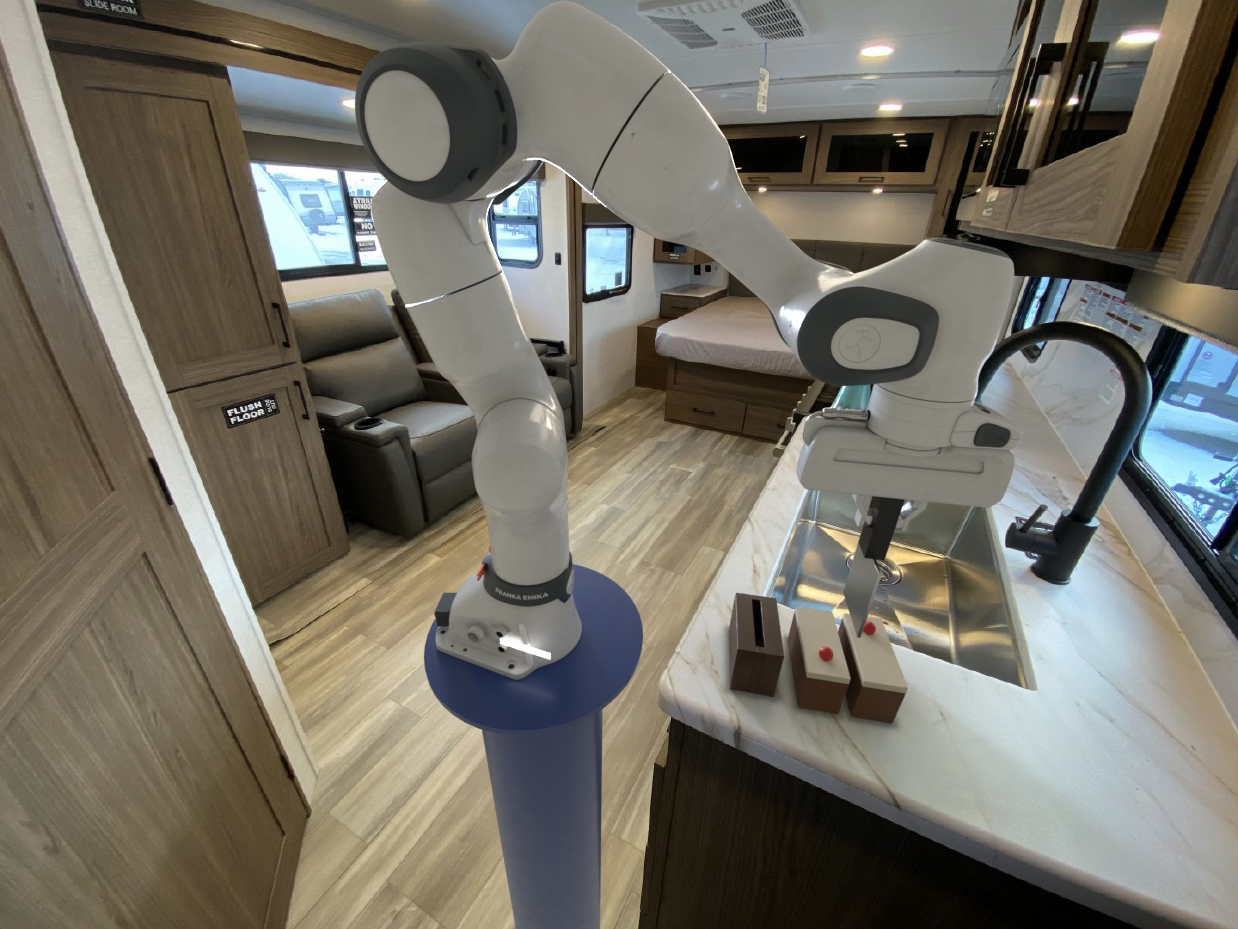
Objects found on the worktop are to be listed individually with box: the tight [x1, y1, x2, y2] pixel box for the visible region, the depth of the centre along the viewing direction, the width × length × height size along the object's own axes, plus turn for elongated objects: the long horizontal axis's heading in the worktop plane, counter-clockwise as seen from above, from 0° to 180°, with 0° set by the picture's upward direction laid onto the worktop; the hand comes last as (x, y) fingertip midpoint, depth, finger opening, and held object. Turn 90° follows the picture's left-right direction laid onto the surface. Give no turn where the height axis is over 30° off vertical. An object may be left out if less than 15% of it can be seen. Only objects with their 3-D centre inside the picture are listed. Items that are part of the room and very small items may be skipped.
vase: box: [830, 384, 871, 410], centre depth 143 cm, size 12×12×18 cm
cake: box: [786, 605, 909, 725], centre depth 69 cm, size 12×12×8 cm
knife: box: [842, 496, 905, 638], centre depth 58 cm, size 2×8×19 cm, turn 169°
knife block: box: [728, 592, 785, 698], centre depth 71 cm, size 6×11×8 cm, turn 170°
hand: (879, 526), depth 57 cm, fingers closed on knife, 2 cm apart
